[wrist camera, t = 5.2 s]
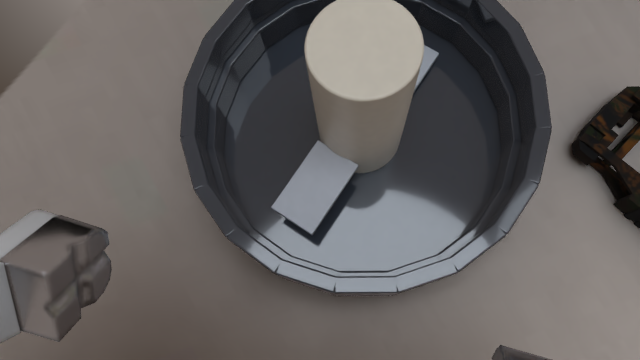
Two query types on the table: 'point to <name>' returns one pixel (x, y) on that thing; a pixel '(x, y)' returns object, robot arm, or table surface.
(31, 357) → the table surface
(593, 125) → the knife
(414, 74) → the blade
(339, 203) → the dark grey round dish
